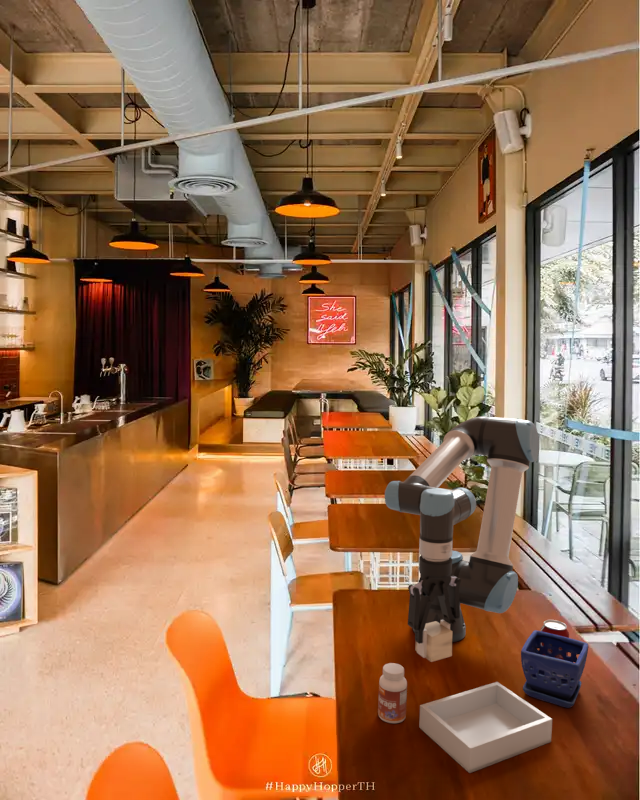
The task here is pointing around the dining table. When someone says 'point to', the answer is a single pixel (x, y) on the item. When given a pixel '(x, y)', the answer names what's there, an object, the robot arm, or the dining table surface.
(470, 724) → the tote
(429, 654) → the beech cube
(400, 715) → the pill bottle
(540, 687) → the flower pot
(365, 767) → the dining table surface
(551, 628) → the soda can
